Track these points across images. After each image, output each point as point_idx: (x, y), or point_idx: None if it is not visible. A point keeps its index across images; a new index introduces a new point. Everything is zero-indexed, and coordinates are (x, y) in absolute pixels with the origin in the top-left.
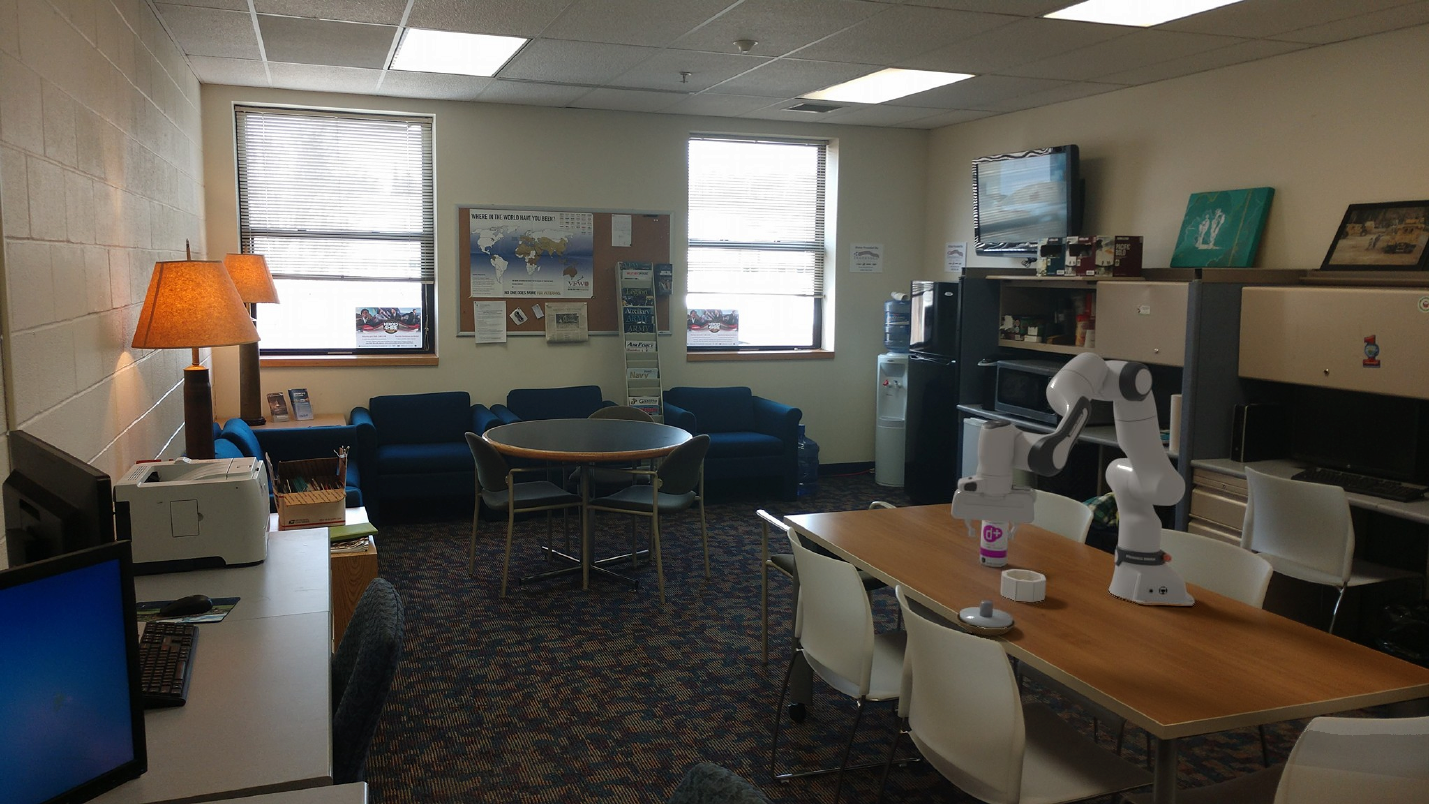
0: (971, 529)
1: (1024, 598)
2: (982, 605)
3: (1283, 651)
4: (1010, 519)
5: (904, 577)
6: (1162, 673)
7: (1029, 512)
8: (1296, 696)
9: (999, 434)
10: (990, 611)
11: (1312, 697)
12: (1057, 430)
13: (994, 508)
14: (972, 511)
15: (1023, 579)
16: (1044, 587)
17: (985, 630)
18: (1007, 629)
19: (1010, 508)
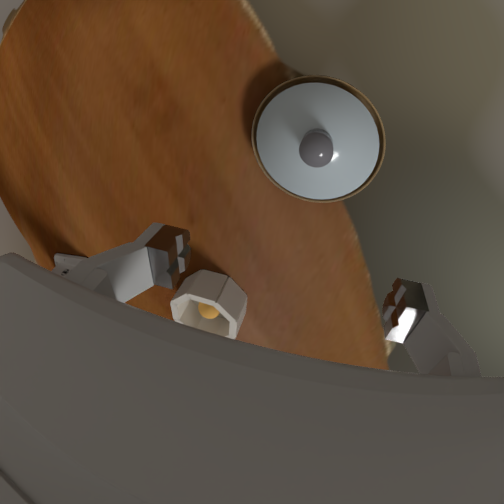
0: (430, 314)
1: (212, 276)
2: (330, 141)
3: (5, 146)
4: (84, 307)
5: (373, 359)
6: (78, 16)
7: None
8: (12, 33)
9: None
10: (309, 132)
11: (6, 39)
12: None
13: (206, 491)
14: (475, 447)
15: (205, 316)
16: (177, 292)
17: (332, 80)
18: (278, 88)
19: (24, 401)
